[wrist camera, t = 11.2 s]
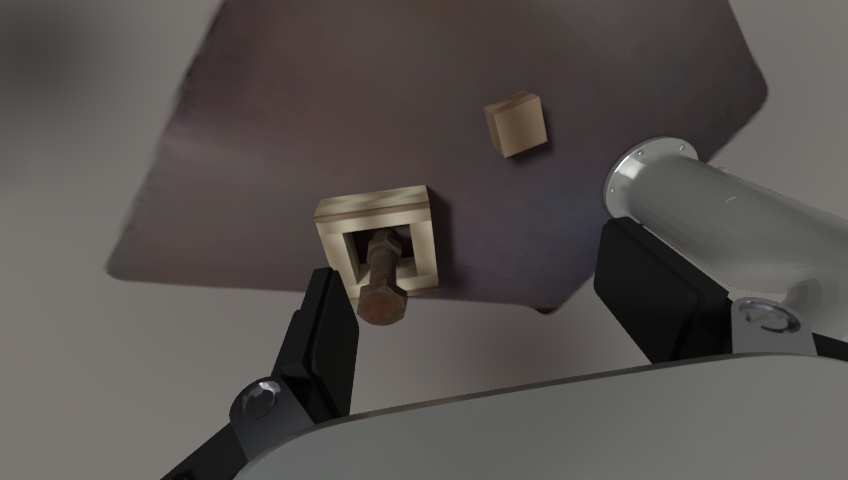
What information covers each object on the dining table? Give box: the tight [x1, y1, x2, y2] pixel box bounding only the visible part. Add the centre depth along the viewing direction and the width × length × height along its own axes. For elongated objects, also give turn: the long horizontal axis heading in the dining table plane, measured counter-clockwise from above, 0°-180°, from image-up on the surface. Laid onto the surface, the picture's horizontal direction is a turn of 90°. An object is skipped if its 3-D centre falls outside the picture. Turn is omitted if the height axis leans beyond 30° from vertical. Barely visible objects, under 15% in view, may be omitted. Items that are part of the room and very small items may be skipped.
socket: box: [313, 185, 440, 304], centre depth 45 cm, size 14×14×6 cm
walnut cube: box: [483, 90, 547, 158], centre depth 38 cm, size 5×5×5 cm
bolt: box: [357, 228, 408, 326], centre depth 41 cm, size 6×5×15 cm
